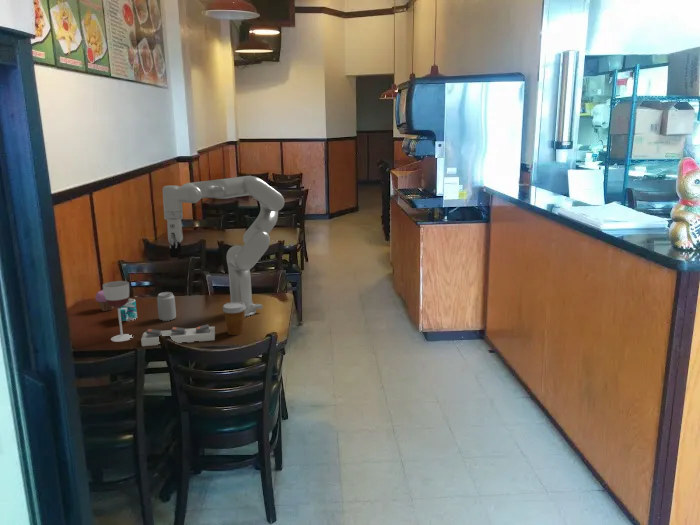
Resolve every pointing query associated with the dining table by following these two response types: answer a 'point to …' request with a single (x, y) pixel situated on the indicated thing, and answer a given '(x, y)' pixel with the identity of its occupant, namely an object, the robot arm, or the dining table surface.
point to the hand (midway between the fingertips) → (175, 254)
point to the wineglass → (117, 302)
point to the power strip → (180, 336)
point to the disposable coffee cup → (234, 317)
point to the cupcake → (103, 301)
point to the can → (166, 306)
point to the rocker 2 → (202, 328)
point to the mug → (128, 311)
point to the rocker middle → (178, 330)
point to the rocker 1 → (153, 332)
